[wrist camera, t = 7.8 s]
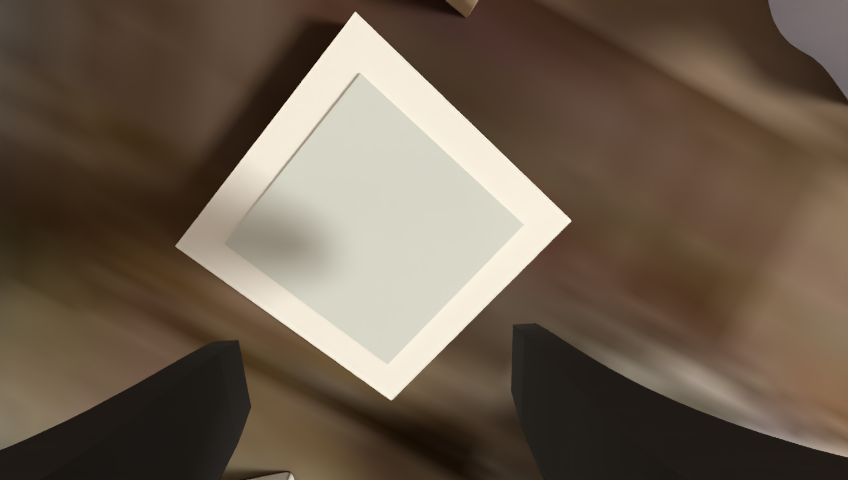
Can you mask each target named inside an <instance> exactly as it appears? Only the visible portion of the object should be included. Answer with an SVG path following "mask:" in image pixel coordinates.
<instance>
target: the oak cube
mask: <svg viewBox="0 0 848 480" xmlns="http://www.w3.org/2000/svg"><path fill="white" fill-rule="evenodd" d="M445 1H446V2H448V3H449V4H450V5H451V6H452V7H454V8H455V9H456V10H457V11H458V12H460V13H461V14H462V15H463V16H464V17H466V18H467V17H468V15H469V14H470V12H471V11H472V10H473V8H474V7H475V5H476V4H477V2H478V1H479V0H445Z"/></svg>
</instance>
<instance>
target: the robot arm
mask: <svg viewBox="0 0 848 480" xmlns="http://www.w3.org/2000/svg"><path fill="white" fill-rule="evenodd" d="M768 2H769V7H770V11H771V14H772V18H773V20H774V22H775V24H776V26H777V28H778V30H779V32H780V33H781V34H782V35H783V36H784V38H785V39H786V40H787V41H788V42H789V43H790V44H792V45H793V46H795V47H796V48H798V49H799V50H801V51H802V52H804V53H806V54H808V55H809V56H811V57H813V58H814V59H815V60H816V61H817V62H819V63H820V64H821V65H822V66H823V67H824V68H825V70H826V71H827V72H828V73H829V74H830V76H831V77H832V78H833V80H834V81H835V83H836V84H837V85H838V87H839V88H840V89H841V91H842V92H843V94H844V95H845V96H846V98H847V99H848V0H768ZM511 392H512V395H513V399H514V403H515V406H516V410H517V414H518V417H519V420H520V424H521V427H522V429H523V432H524V434H525V436H526V439H527V441H528V444H529V446H530V448H531V451H532V453H533V455H534V458H535V460H536V462H537V465H538V467H539V469H540V472H541V474H542V476H543V479H544V480H848V457H844V456H840V455H836V454H832V453H828V452H824V451H820V450H816V449H812V448H809V447H805V446H802V445H798V444H795V443H792V442H789V441H785V440H782V439H779V438H776V437H772V436H769V435H766V434H762V433H759V432H756V431H753V430H750V429H747V428H744V427H742V426H739V425H736V424H733V423H730V422H727V421H725V420H722V419H719V418H717V417H714V416H711V415H709V414H706V413H703V412H701V411H698V410H696V409H693V408H691V407H688V406H686V405H683V404H681V403H679V402H676V401H674V400H672V399H670V398H667V397H665V396H663V395H661V394H659V393H657V392H654V391H652V390H650V389H648V388H646V387H644V386H642V385H640V384H638V383H636V382H634V381H632V380H630V379H628V378H626V377H624V376H623V375H621V374H619V373H617V372H615V371H613V370H612V369H610V368H608V367H606V366H605V365H603V364H601V363H599V362H598V361H596V360H594V359H593V358H591V357H589V356H588V355H586V354H584V353H583V352H581V351H580V350H578V349H576V348H575V347H573V346H572V345H570V344H569V343H567V342H565V341H564V340H562V339H561V338H559V337H558V336H556V335H555V334H553V333H551V332H550V331H548V330H547V329H545V328H543V327H542V326H540V325H538V324H536V323H534V324H516V325H513V343H512V381H511ZM250 408H251V404H250V399H249V394H248V388H247V383H246V378H245V373H244V367H243V362H242V357H241V352H240V346H239V341H238V340H234V341H216V342H213V343H210V344H208V345H206V346H204V347H202V348H200V349H198V350H196V351H194V352H192V353H190V354H189V355H187V356H185V357H183V358H181V359H180V360H178V361H176V362H174V363H173V364H171V365H169V366H167V367H166V368H164V369H162V370H160V371H159V372H157V373H155V374H153V375H152V376H150V377H148V378H146V379H145V380H143V381H141V382H139V383H137V384H136V385H134V386H132V387H130V388H128V389H126V390H125V391H123V392H121V393H119V394H117V395H115V396H113V397H111V398H110V399H108V400H106V401H104V402H102V403H100V404H98V405H97V406H95V407H93V408H91V409H89V410H87V411H85V412H83V413H81V414H79V415H77V416H75V417H73V418H71V419H69V420H67V421H65V422H63V423H61V424H59V425H56V426H54V427H52V428H50V429H48V430H46V431H43V432H41V433H39V434H37V435H35V436H32V437H30V438H28V439H26V440H24V441H21V442H19V443H17V444H14V445H12V446H10V447H7V448H5V449H2V450H0V480H220V478H221V476H222V474H223V472H224V470H225V468H226V466H227V464H228V462H229V460H230V458H231V456H232V454H233V452H234V450H235V448H236V446H237V444H238V442H239V439H240V437H241V434H242V431H243V429H244V426H245V423H246V420H247V417H248V414H249V411H250Z"/></svg>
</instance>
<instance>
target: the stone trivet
mask: <svg viewBox="0 0 848 480" xmlns="http://www.w3.org/2000/svg"><path fill="white" fill-rule="evenodd" d="M570 222H571V220H570V219H569V218H568V217H567V216H566V215H565V214H564V213H563V212H562V211H561V210H560V209H559V208H558V207H557V206H556V205H555V204H554V203H553V202H552V201H551V200H550V199H549V198H548V197H547V196H545V195H544V194H543V193H542V192H541V191H540V190H539V189H538V188H537V187H536V186H535V185H534V184H533V183H532V182H531V181H530V180H529V179H528V178H527V177H526V176H525V175H524V174H523V173H522V172H521V171H520V170H519V169H518V168H517V167H515V166H514V165H513V164H512V163H511V162H510V161H509V160H508V159H507V158H506V157H505V156H504V155H503V154H502V153H501V152H500V151H499V150H498V149H497V148H496V147H495V146H494V145H493V144H492V143H491V142H490V141H489V140H488V139H486V138H485V137H484V136H483V135H482V134H481V133H480V132H479V131H478V130H477V129H476V128H475V127H474V126H473V125H472V124H471V123H470V122H469V121H468V120H467V119H466V118H465V117H464V116H463V115H462V114H461V113H460V112H459V111H457V110H456V109H455V108H454V107H453V106H452V105H451V104H450V103H449V102H448V101H447V100H446V99H445V98H444V97H443V96H442V95H441V94H440V93H439V92H438V91H437V90H436V89H435V88H434V87H433V86H432V85H431V84H430V83H428V82H427V81H426V80H425V79H424V78H423V77H422V76H421V75H420V74H419V73H418V72H417V71H416V70H415V69H414V68H413V67H412V66H411V65H410V64H409V63H408V62H407V61H406V60H405V59H404V58H403V57H402V56H401V55H400V54H398V53H397V52H396V51H395V50H394V49H393V48H392V47H391V46H390V45H389V44H388V43H387V42H386V41H385V40H384V39H383V38H382V37H381V36H380V35H379V34H378V33H377V32H376V31H375V30H374V29H373V28H372V27H371V26H369V25H368V24H367V23H366V22H365V21H364V20H363V19H362V18H361V17H360V16H359V15H358V14H357V13H356V12H355V13H354V14H353V16H352V17H351V18H350V20H349V21H348V22H347V23H346V25H345V26H344V27H343V29H342V30H341V31H340V33H339V34H338V35H337V36H336V38H335V39H334V40H333V42H332V43H331V44H330V46H329V47H328V48H327V49H326V51H325V52H324V53H323V55H322V56H321V57H320V59H319V60H318V61H317V62H316V64H315V65H314V66H313V68H312V69H311V70H310V72H309V73H308V74H307V75H306V77H305V78H304V79H303V81H302V82H301V83H300V85H299V86H298V87H297V88H296V90H295V91H294V92H293V94H292V95H291V96H290V98H289V99H288V100H287V101H286V103H285V104H284V105H283V107H282V108H281V109H280V111H279V112H278V113H277V114H276V116H275V117H274V118H273V120H272V121H271V122H270V124H269V125H268V126H267V127H266V129H265V130H264V131H263V133H262V134H261V135H260V137H259V138H258V139H257V140H256V142H255V143H254V144H253V146H252V147H251V148H250V150H249V151H248V152H247V153H246V155H245V156H244V157H243V159H242V160H241V161H240V163H239V164H238V165H237V166H236V168H235V169H234V170H233V172H232V173H231V174H230V176H229V177H228V178H227V179H226V181H225V182H224V183H223V185H222V186H221V187H220V189H219V190H218V191H217V192H216V194H215V195H214V196H213V198H212V199H211V200H210V202H209V203H208V204H207V206H206V207H205V208H204V209H203V211H202V212H201V213H200V215H199V216H198V217H197V219H196V220H195V221H194V222H193V224H192V225H191V226H190V228H189V229H188V230H187V232H186V233H185V234H184V235H183V237H182V238H181V239H180V241H179V242H178V243H177V245H176V246H175V247H177V248H178V249H180V250H181V251H182V252H184V253H185V254H187V255H188V256H189V257H191V258H192V259H194V260H195V261H196V262H198V263H199V264H201V265H202V266H203V267H205V268H206V269H208V270H209V271H210V272H212V273H213V274H215V275H216V276H217V277H219V278H220V279H222V280H223V281H224V282H226V283H227V284H229V285H230V286H231V287H233V288H234V289H236V290H237V291H238V292H240V293H241V294H243V295H244V296H245V297H247V298H248V299H250V300H251V301H252V302H254V303H255V304H257V305H258V306H259V307H261V308H262V309H264V310H265V311H266V312H268V313H269V314H271V315H272V316H273V317H275V318H276V319H278V320H279V321H280V322H282V323H283V324H285V325H286V326H287V327H289V328H290V329H292V330H293V331H294V332H296V333H297V334H299V335H300V336H301V337H303V338H304V339H306V340H307V341H309V342H310V343H311V344H313V345H314V346H316V347H317V348H318V349H320V350H321V351H323V352H324V353H325V354H327V355H328V356H330V357H331V358H332V359H334V360H335V361H337V362H338V363H339V364H341V365H342V366H344V367H345V368H346V369H348V370H349V371H351V372H352V373H353V374H355V375H356V376H358V377H359V378H360V379H362V380H363V381H365V382H366V383H367V384H369V385H370V386H372V387H373V388H374V389H376V390H377V391H379V392H380V393H381V394H383V395H384V396H386V397H387V398H388V399H390V400H392V399H393V398H394V397H395V396H396V395H397V394H398V393H399V392H400V391H401V390H402V389H403V388H404V387H405V386H406V385H407V384H408V383H409V382H410V381H412V380H413V379H414V378H415V377H416V376H417V375H418V374H419V373H420V372H421V371H422V370H423V369H424V368H425V367H426V366H427V365H428V364H429V363H430V362H431V361H432V360H433V359H434V358H435V357H436V356H437V355H438V354H439V353H440V352H441V351H442V350H443V349H444V348H445V347H446V346H447V345H448V344H449V343H450V342H451V341H452V340H453V339H454V338H455V337H456V336H457V335H458V334H459V333H460V332H461V331H462V330H463V329H464V328H465V327H466V326H467V325H468V324H469V323H470V322H471V321H472V320H473V319H474V318H475V317H476V316H477V315H478V314H479V313H480V312H481V311H482V310H483V309H484V308H485V307H486V306H487V305H488V304H489V303H490V302H491V301H492V300H493V299H494V298H495V297H496V296H497V295H498V294H499V293H500V292H501V291H502V290H503V289H504V288H505V287H506V286H507V285H508V284H509V283H510V282H511V281H512V280H513V279H514V278H515V277H516V276H517V275H518V274H519V273H520V272H521V271H522V270H523V269H524V268H525V267H526V266H527V265H528V264H529V263H530V262H531V261H532V260H533V259H534V258H535V257H536V256H537V255H538V254H539V253H540V252H541V251H542V250H543V249H544V248H545V247H546V246H547V245H548V244H549V243H550V242H551V241H552V240H553V239H554V238H555V237H556V236H557V235H558V234H559V233H560V232H561V231H562V230H563V229H564V228H565V227H566V226H567V225H568V224H569V223H570Z"/></svg>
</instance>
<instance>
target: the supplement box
mask: <svg viewBox="0 0 848 480" xmlns="http://www.w3.org/2000/svg"><path fill="white" fill-rule="evenodd" d="M248 480H294V477H293V475H292V474H291V473H288V472H285V473H279V474H274V475H269V476H264V477H258V478H253V479H248Z"/></svg>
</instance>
